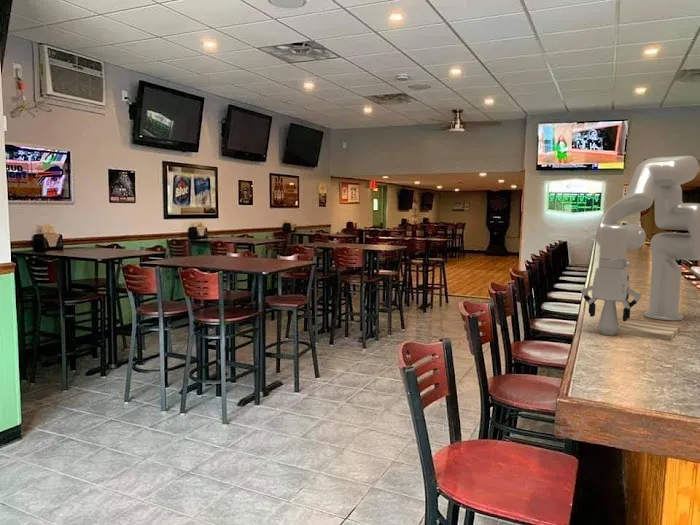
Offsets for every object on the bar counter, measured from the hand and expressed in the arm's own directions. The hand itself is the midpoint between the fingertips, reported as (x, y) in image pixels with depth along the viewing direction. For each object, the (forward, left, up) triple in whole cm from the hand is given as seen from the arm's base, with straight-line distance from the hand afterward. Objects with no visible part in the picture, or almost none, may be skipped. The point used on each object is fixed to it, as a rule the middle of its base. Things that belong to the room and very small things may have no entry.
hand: (608, 318), depth 167 cm
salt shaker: (0, 0, -5) cm, 5 cm away
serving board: (-13, +9, -5) cm, 17 cm away
